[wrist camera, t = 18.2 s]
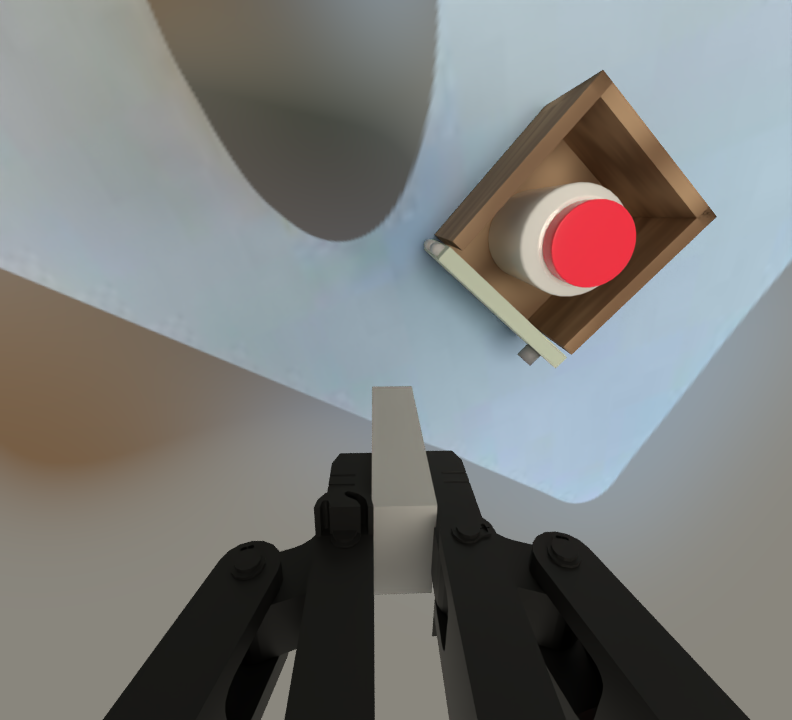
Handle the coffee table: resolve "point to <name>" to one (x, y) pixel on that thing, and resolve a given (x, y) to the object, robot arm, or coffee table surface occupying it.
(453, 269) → the door
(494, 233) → the pill bottle
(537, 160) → the box
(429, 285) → the coffee table surface
